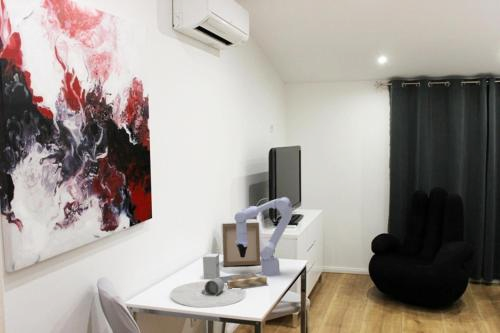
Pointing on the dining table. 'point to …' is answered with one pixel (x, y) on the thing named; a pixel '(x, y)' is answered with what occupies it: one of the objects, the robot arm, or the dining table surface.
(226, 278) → the bench mat
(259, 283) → the bench fence
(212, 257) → the supplement box
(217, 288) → the ceramic mug
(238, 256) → the photo frame
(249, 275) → the grey flat piece
